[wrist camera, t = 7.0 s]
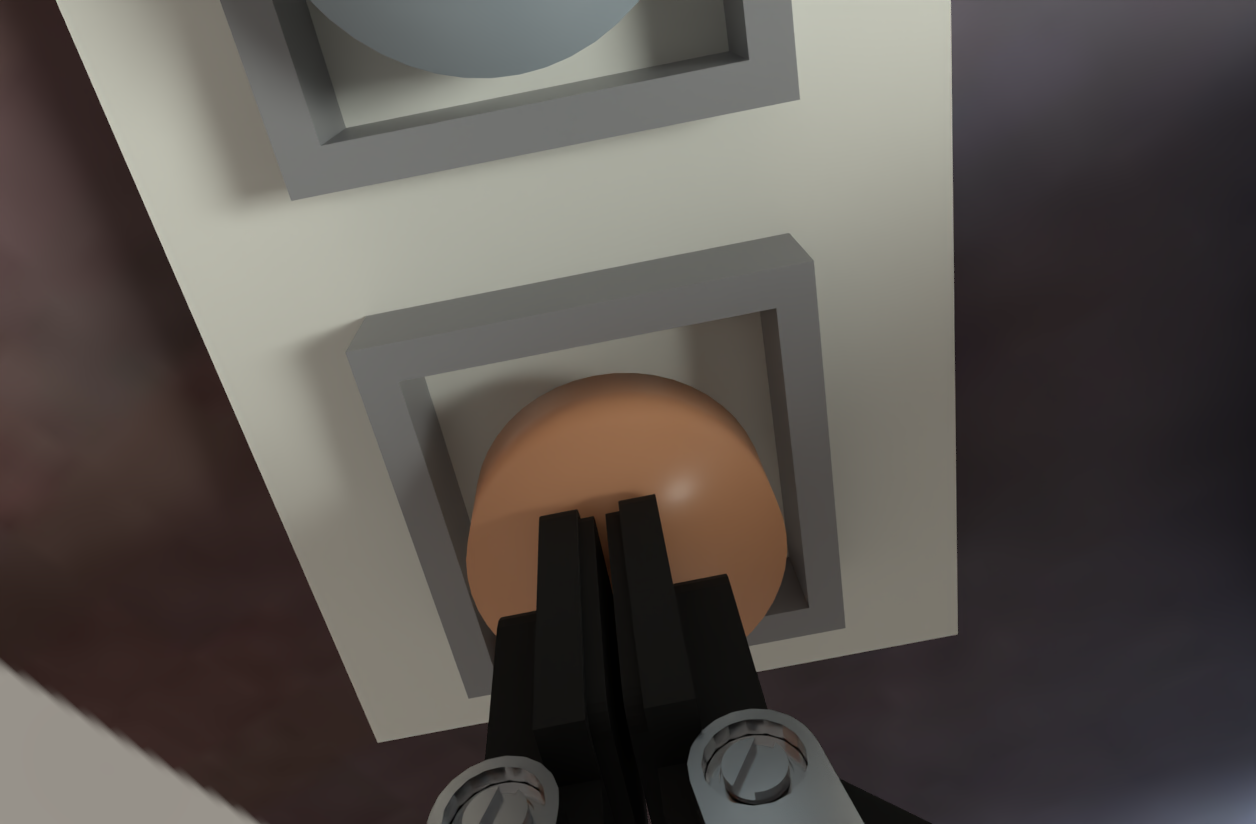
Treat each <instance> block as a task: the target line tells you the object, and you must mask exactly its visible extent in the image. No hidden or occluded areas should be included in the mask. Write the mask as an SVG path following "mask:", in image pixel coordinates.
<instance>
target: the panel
mask: <svg viewBox="0 0 1256 824" xmlns="http://www.w3.org/2000/svg"><path fill="white" fill-rule="evenodd" d="M56 2H57V4H58V7H59V9H60V11H61V13H62V16H63V18H64V20H65V23H66V25H67V27H68V30H69V32H70V34H71V36H72V39H73V41H74V43H75V46H76V48H77V50H78V53H79V55H80V57H81V60H82V62H83V64H84V66H85V69H86V71H87V73H88V76H89V78H90V80H91V83H92V85H93V87H94V90H95V92H96V94H97V96H98V99H99V101H100V103H101V106H102V108H103V110H104V113H105V115H106V117H107V120H108V122H109V124H110V126H111V129H112V131H113V133H114V136H115V138H116V140H117V143H118V145H119V147H120V150H121V152H122V154H123V156H124V159H125V161H126V163H127V166H128V168H129V170H130V173H131V175H132V177H133V180H134V182H135V184H136V186H137V189H138V191H139V193H140V196H141V198H142V200H143V203H144V205H145V207H146V209H147V212H148V214H149V216H150V219H151V221H152V223H153V226H154V228H155V230H156V233H157V235H158V237H159V239H160V242H161V244H162V246H163V249H164V251H165V253H166V256H167V258H168V260H169V263H170V265H171V267H172V269H173V272H174V274H175V276H176V279H177V281H178V283H179V286H180V288H181V290H182V293H183V295H184V297H185V299H186V302H187V304H188V306H189V309H190V311H191V313H192V316H193V318H194V320H195V323H196V325H197V327H198V329H199V332H200V334H201V336H202V339H203V341H204V343H205V346H206V348H207V350H208V352H209V355H210V357H211V359H212V362H213V364H214V366H215V369H216V371H217V373H218V376H219V378H220V380H221V382H222V385H223V387H224V389H225V392H226V394H227V396H228V399H229V401H230V403H231V406H232V408H233V410H234V412H235V415H236V417H237V419H238V422H239V424H240V426H241V429H242V431H243V433H244V436H245V438H246V440H247V442H248V445H249V447H250V449H251V452H252V454H253V456H254V459H255V461H256V463H257V466H258V468H259V470H260V472H261V475H262V477H263V479H264V482H265V484H266V486H267V489H268V491H269V493H270V496H271V498H272V500H273V502H274V505H275V507H276V509H277V512H278V514H279V516H280V519H281V521H282V523H283V525H284V528H285V530H286V532H287V535H288V537H289V539H290V542H291V544H292V546H293V549H294V551H295V553H296V555H297V558H298V560H299V562H300V565H301V567H302V569H303V572H304V574H305V576H306V579H307V581H308V583H309V585H310V588H311V590H312V592H313V595H314V597H315V599H316V602H317V604H318V606H319V609H320V611H321V613H322V615H323V618H324V620H325V622H326V625H327V627H328V629H329V632H330V634H331V636H332V639H333V641H334V643H335V645H336V648H337V650H338V652H339V655H340V657H341V659H342V662H343V664H344V666H345V668H346V671H347V673H348V675H349V678H350V680H351V682H352V685H353V687H354V689H355V692H356V694H357V696H358V698H359V701H360V703H361V705H362V708H363V710H364V712H365V715H366V717H367V719H368V722H369V724H370V726H371V728H372V731H373V733H374V735H375V738H376V740H377V742H378V743H380V742H385V741H390V740H396V739H401V738H406V737H412V736H417V735H422V734H428V733H433V732H439V731H444V730H449V729H455V728H460V727H465V726H471V725H476V724H481V723H487V722H489V711H490V700H491V689H492V678H493V667H494V656H495V645H496V635H495V634H494V633H493V632H492V630H491V629H490V628H489V627H488V626H487V624H486V622H485V621H484V619H483V617H482V616H481V614H480V612H479V611H478V609H477V606H476V604H475V601H474V599H473V597H472V594H471V590H470V586H469V582H468V578H467V565H466V556H467V544H468V537H469V531H470V525H471V519H472V513H473V507H474V501H475V495H476V489H477V483H478V479H479V475H480V470H481V467H482V464H483V462H484V459H485V457H486V455H487V452H488V450H489V448H490V447H491V445H492V443H493V442H494V440H495V438H496V437H497V435H498V434H499V433H500V432H501V430H502V429H503V428H504V427H505V425H506V424H507V423H508V422H509V421H510V420H511V419H512V418H513V417H514V416H515V415H516V414H517V413H518V412H519V411H520V410H521V409H523V408H524V407H525V406H527V405H528V404H530V403H531V402H532V401H534V400H535V399H537V398H538V397H540V396H542V395H543V394H545V393H547V392H549V391H551V390H553V389H555V388H557V387H559V386H562V385H565V384H567V383H570V382H572V381H575V380H579V379H583V378H587V377H591V376H596V375H604V374H611V373H639V374H648V375H656V376H660V377H664V378H668V379H672V380H675V381H678V382H681V383H683V384H686V385H689V386H691V387H693V388H695V389H697V390H699V391H701V392H703V393H705V394H706V395H708V396H710V397H711V398H712V399H714V400H715V401H717V402H718V403H719V404H721V405H722V406H723V407H724V408H725V409H726V410H727V411H729V412H730V413H731V414H732V415H733V416H734V417H735V418H736V419H737V421H738V422H739V423H740V425H741V426H742V427H743V428H744V430H745V431H746V433H747V434H748V436H749V438H750V440H751V441H752V443H753V445H754V447H755V449H756V452H757V454H758V457H759V459H760V461H761V464H762V466H763V469H764V471H765V474H766V476H767V478H768V481H769V483H770V486H771V488H772V490H773V493H774V495H775V498H776V500H777V503H778V505H779V508H780V511H781V513H782V516H783V520H784V525H785V530H786V535H787V558H786V566H785V571H784V575H783V579H782V582H781V586H780V588H779V590H778V593H777V595H776V597H775V599H774V602H773V603H772V605H771V606H770V608H769V610H768V611H767V613H766V615H765V616H764V617H763V619H762V620H761V621H760V622H759V624H758V625H757V626H756V627H755V629H754V630H753V631H752V632H751V633H750V634H749V635H748V636H747V637H746V638H747V642H748V645H749V649H750V652H751V655H752V659H753V662H754V665H755V669H756V672H760V671H765V670H770V669H776V668H781V667H786V666H792V665H797V664H802V663H808V662H813V661H818V660H824V659H829V658H834V657H840V656H845V655H851V654H856V653H861V652H867V651H872V650H877V649H883V648H888V647H893V646H899V645H904V644H909V643H915V642H920V641H925V640H931V639H936V638H941V637H947V636H952V635H958V600H957V510H956V420H955V330H954V240H953V150H952V60H951V0H639V1H638V2H637V3H636V5H635V6H634V7H633V8H632V9H631V10H630V11H629V12H628V13H627V14H626V15H625V16H624V17H623V18H622V19H621V21H620V22H619V23H618V24H616V25H615V26H614V27H613V28H612V29H610V30H609V31H608V32H607V33H605V34H604V35H603V36H602V37H601V38H599V39H598V40H597V41H596V42H594V43H592V44H591V45H589V46H588V47H586V48H584V49H583V50H581V51H579V52H578V53H576V54H574V55H573V56H571V57H569V58H566V59H564V60H562V61H560V62H557V63H555V64H553V65H550V66H548V67H545V68H542V69H538V70H535V71H531V72H527V73H524V74H520V75H513V76H505V77H497V78H462V77H455V76H448V75H441V74H435V73H432V72H428V71H425V70H422V69H418V68H415V67H411V66H408V65H405V64H403V63H401V62H399V61H396V60H394V59H392V58H389V57H387V56H385V55H382V54H380V53H379V52H377V51H375V50H373V49H372V48H370V47H368V46H367V45H365V44H363V43H362V42H360V41H358V40H356V39H355V38H353V37H352V36H351V35H349V34H348V33H347V32H345V31H344V30H343V29H342V28H340V27H339V26H338V25H336V24H335V23H334V22H332V21H331V20H330V19H329V18H327V17H326V16H325V15H324V14H323V13H322V12H321V11H320V10H319V9H318V8H317V7H316V6H315V5H314V4H313V3H312V2H311V1H310V0H56Z"/></svg>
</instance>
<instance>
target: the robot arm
mask: <svg viewBox="0 0 1256 824" xmlns="http://www.w3.org/2000/svg"><path fill="white" fill-rule="evenodd" d="M618 504H619V511H617V512H612V513H607V514H605V517H606V528H607V538H608V548H609V559H610V569H611V580H612V589H611V584H610V580H609V576H608V572H607V567H606V563H605V559H604V555H603V550H602V546H601V542H600V538H599V533H598V529H597V525H596V521H595V518H594V516H592V517H586V518H580V514H579V512H578V510H577V509H575V510H570V511H564V512H559V513H554V514H549V515H544V516H540V517H539V535H538V569H537V602H536V611H531V612H526V613H521V614H515V615H510V616H505V617H501V618H500V619H499V621H498V626H497V634H496V645H495V656H494V667H493V678H492V689H491V700H490V711H489V722H488V733H487V744H486V755H485V761H483V762H481V763H478V764H476V765H474V766H472V767H470V768H468V769H466V770H465V771H464V772H462V773H461V774H460V775H458V776H457V777H456V778H454V779H453V780H452V781H451V782H450V783H449V784H448V785H447V787H446V788H445V789H444V790H443V791H442V792H441V794H440V795H439V796H438V798H437V800H436V802H435V804H434V806H433V808H432V810H431V812H430V815H429V818H428V821H427V824H648V818H647V809H646V803H647V807H648V811H649V815H650V819H651V823H652V824H931V823H929V822H927V821H925V820H923V819H921V818H919V817H917V816H915V815H913V814H911V813H909V812H907V811H905V810H903V809H901V808H899V807H897V806H895V805H892V804H890V803H888V802H886V801H884V800H882V799H880V798H878V797H876V796H874V795H872V794H870V793H868V792H866V791H864V790H862V789H860V788H858V787H856V786H853V785H851V784H849V783H847V782H845V781H843V780H841V779H839V778H838V776H837V774H836V773H835V771H834V769H833V767H832V766H831V764H830V762H829V760H828V758H827V757H826V755H825V753H824V751H823V750H822V748H821V746H820V744H819V742H818V741H817V739H816V738H815V737H814V735H813V734H812V733H811V732H810V730H809V729H808V728H807V727H806V726H805V725H804V724H802V723H801V722H799V721H798V720H796V719H794V718H793V717H791V716H790V715H787V714H783V713H780V712H777V711H774V710H767V706H766V703H765V699H764V696H763V693H762V689H761V686H760V682H759V679H758V676H757V672H756V669H755V665H754V662H753V659H752V655H751V652H750V649H749V645H748V642H747V638H746V635H745V632H744V628H743V625H742V621H741V618H740V615H739V611H738V608H737V604H736V601H735V598H734V594H733V591H732V588H731V584H730V581H729V578H728V575H727V574H721V575H716V576H711V577H706V578H700V579H695V580H690V581H685V582H680V583H675V584H673V581H672V576H671V571H670V566H669V561H668V555H667V550H666V545H665V540H664V535H663V530H662V525H661V520H660V515H659V510H658V505H657V500H656V495H655V494H651V495H646V496H641V497H636V498H631V499H626V500H621V501H618ZM612 590H613V593H612ZM645 798H646V800H645Z"/></svg>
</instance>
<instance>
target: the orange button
mask: <svg viewBox="0 0 1256 824" xmlns="http://www.w3.org/2000/svg"><path fill="white" fill-rule="evenodd" d="M651 494H655V495H656V500H657V505H658V510H659V515H660V520H661V525H662V530H663V535H664V540H665V545H666V550H667V555H668V561H669V566H670V571H671V576H672V581H673V584H675V583H680V582H685V581H690V580H695V579H700V578H706V577H711V576H716V575H721V574H727V575H728V578H729V581H730V584H731V588H732V591H733V594H734V598H735V601H736V604H737V608H738V611H739V615H740V618H741V621H742V625H743V628H744V632H745V635H746V637H747V636H748V635H749V634H750V633H751V632H752V631H753V630H754V629H755V627H756V626H757V625H758V624H759V622H760V621H761V620H762V619H763V617H764V616H765V615H766V613H767V611H768V610H769V608H770V606H771V605H772V603H773V602H774V599H775V597H776V595H777V593H778V590H779V588H780V586H781V582H782V579H783V575H784V571H785V566H786V558H787V535H786V530H785V525H784V520H783V516H782V513H781V511H780V508H779V505H778V503H777V500H776V498H775V495H774V493H773V490H772V488H771V486H770V483H769V481H768V478H767V476H766V474H765V471H764V469H763V466H762V464H761V461H760V459H759V457H758V454H757V452H756V449H755V447H754V445H753V443H752V441H751V440H750V438H749V436H748V434H747V433H746V431H745V430H744V428H743V427H742V426H741V425H740V423H739V422H738V421H737V419H736V418H735V417H734V416H733V415H732V414H731V413H730V412H729V411H727V410H726V409H725V408H724V407H723V406H722V405H721V404H719V403H718V402H717V401H715V400H714V399H712V398H711V397H710V396H708V395H706V394H705V393H703V392H701V391H699V390H697V389H695V388H693V387H691V386H689V385H686V384H683V383H681V382H678V381H675V380H672V379H668V378H664V377H660V376H656V375H648V374H639V373H611V374H604V375H596V376H591V377H587V378H583V379H579V380H575V381H572V382H570V383H567V384H565V385H562V386H559V387H557V388H555V389H553V390H551V391H549V392H547V393H545V394H543V395H542V396H540V397H538V398H537V399H535V400H534V401H532V402H531V403H530V404H528V405H527V406H525V407H524V408H523V409H521V410H520V411H519V412H518V413H517V414H516V415H515V416H514V417H513V418H512V419H511V420H510V421H509V422H508V423H507V424H506V425H505V427H504V428H503V429H502V430H501V432H500V433H499V434H498V435H497V437H496V438H495V440H494V442H493V443H492V445H491V447H490V448H489V450H488V452H487V455H486V457H485V459H484V462H483V464H482V467H481V470H480V475H479V479H478V483H477V489H476V495H475V501H474V507H473V513H472V519H471V525H470V531H469V537H468V544H467V556H466V565H467V578H468V582H469V586H470V590H471V594H472V597H473V599H474V601H475V604H476V606H477V609H478V611H479V612H480V614H481V616H482V617H483V619H484V621H485V622H486V624H487V626H488V627H489V628H490V629H491V630H492V632H493V633H494V634H495V635H496V634H497V626H498V621H499V619H500V618H501V617H505V616H510V615H515V614H521V613H526V612H531V611H536V602H537V569H538V535H539V517H540V516H544V515H549V514H554V513H559V512H564V511H570V510H575V509H577V510H578V512H579V514H580V518H586V517H592V516H594V518H595V521H596V525H597V529H598V533H599V538H600V542H601V546H602V550H603V555H604V559H605V563H606V567H607V572H608V576H609V580H610V584H611V589H612V580H611V569H610V559H609V548H608V538H607V528H606V517H605V514H607V513H612V512H617V511H619V504H618V501H621V500H626V499H631V498H636V497H641V496H646V495H651ZM612 593H613V590H612Z"/></svg>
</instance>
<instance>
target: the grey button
mask: <svg viewBox="0 0 1256 824" xmlns="http://www.w3.org/2000/svg"><path fill="white" fill-rule="evenodd" d="M310 1H311V2H312V3H313V4H314V5H315V6H316V7H317V8H318V9H319V10H320V11H321V12H322V13H323V14H324V15H325V16H326V17H327V18H329V19H330V20H331V21H332V22H334V23H335V24H336V25H338V26H339V27H340V28H342V29H343V30H344V31H345V32H347V33H348V34H349V35H351V36H352V37H353V38H355V39H356V40H358V41H360V42H362V43H363V44H365V45H367V46H368V47H370V48H372V49H373V50H375V51H377V52H379V53H380V54H382V55H385V56H387V57H389V58H392V59H394V60H396V61H399V62H401V63H403V64H405V65H408V66H411V67H415V68H418V69H422V70H425V71H428V72H432V73H435V74H441V75H448V76H455V77H462V78H497V77H505V76H513V75H520V74H524V73H527V72H531V71H535V70H538V69H542V68H545V67H548V66H550V65H553V64H555V63H557V62H560V61H562V60H564V59H566V58H569V57H571V56H573V55H574V54H576V53H578V52H579V51H581V50H583V49H584V48H586V47H588V46H589V45H591V44H592V43H594V42H596V41H597V40H598V39H599V38H601V37H602V36H603V35H604V34H605V33H607V32H608V31H609V30H610V29H612V28H613V27H614V26H615V25H616V24H618V23H619V22H620V21H621V19H622V18H623V17H624V16H625V15H626V14H627V13H628V12H629V11H630V10H631V9H632V8H633V7H634V6H635V5H636V3H637V2H638V1H639V0H310Z"/></svg>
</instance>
